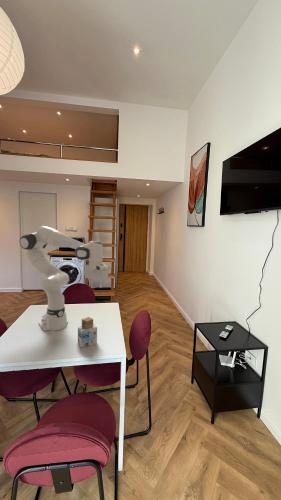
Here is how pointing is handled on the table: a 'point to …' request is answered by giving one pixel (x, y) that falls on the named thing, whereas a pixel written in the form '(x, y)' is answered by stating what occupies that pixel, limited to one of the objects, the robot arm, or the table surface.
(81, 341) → the light bulb box
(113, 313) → the table surface
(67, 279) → the robot arm
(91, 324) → the walnut cube
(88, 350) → the table surface
